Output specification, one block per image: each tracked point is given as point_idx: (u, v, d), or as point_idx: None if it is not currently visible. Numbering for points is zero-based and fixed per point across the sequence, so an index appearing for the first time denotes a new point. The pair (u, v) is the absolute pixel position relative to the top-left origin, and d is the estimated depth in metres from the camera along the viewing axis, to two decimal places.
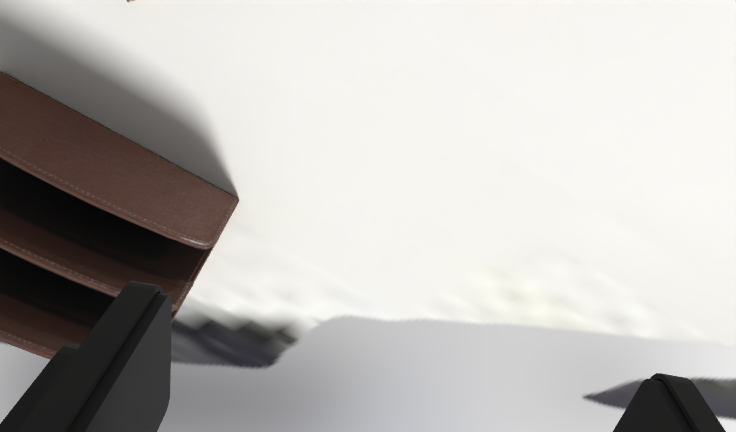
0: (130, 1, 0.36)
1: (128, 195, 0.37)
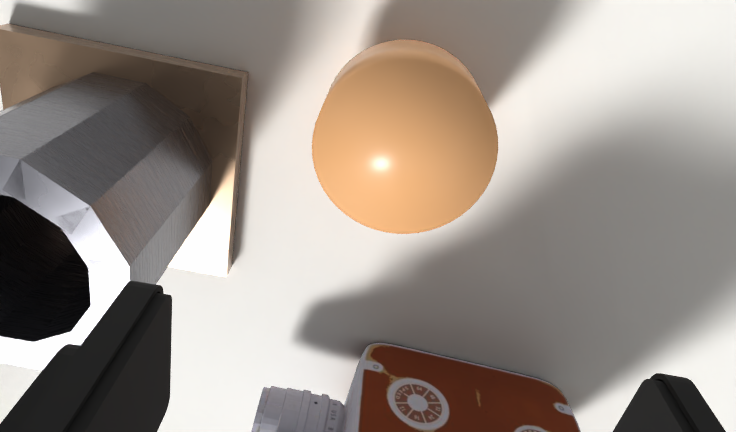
0: None
1: None
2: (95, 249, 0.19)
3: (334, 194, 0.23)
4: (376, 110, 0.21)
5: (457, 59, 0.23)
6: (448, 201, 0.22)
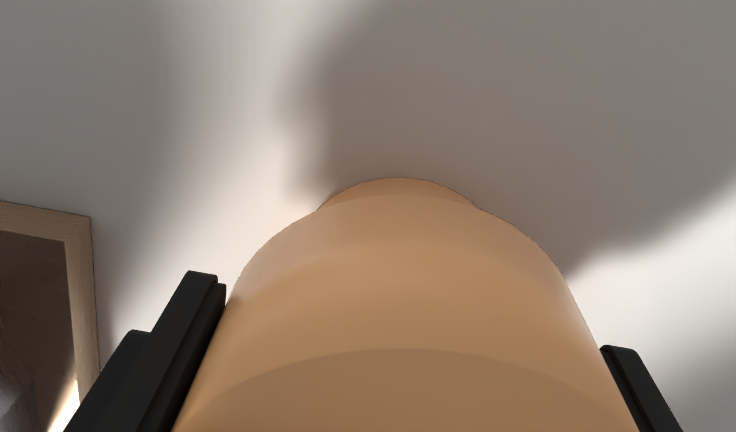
0: None
1: None
2: None
3: None
4: None
5: (528, 241, 0.10)
6: None
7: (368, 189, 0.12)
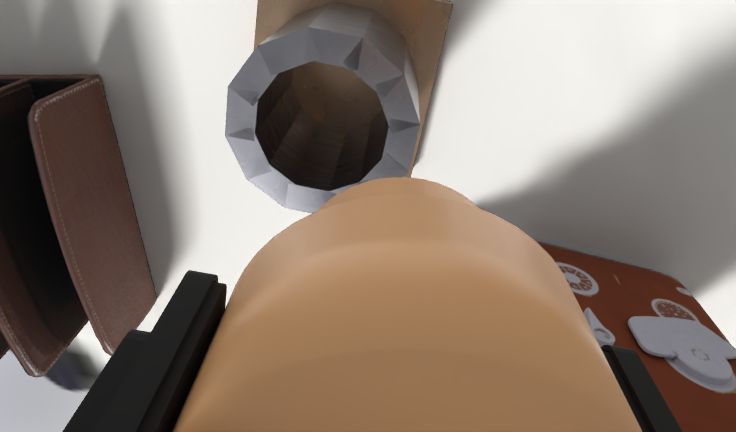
0: None
1: (100, 278, 0.38)
2: (398, 110, 0.26)
3: None
4: None
5: (530, 241, 0.10)
6: None
7: (369, 188, 0.12)
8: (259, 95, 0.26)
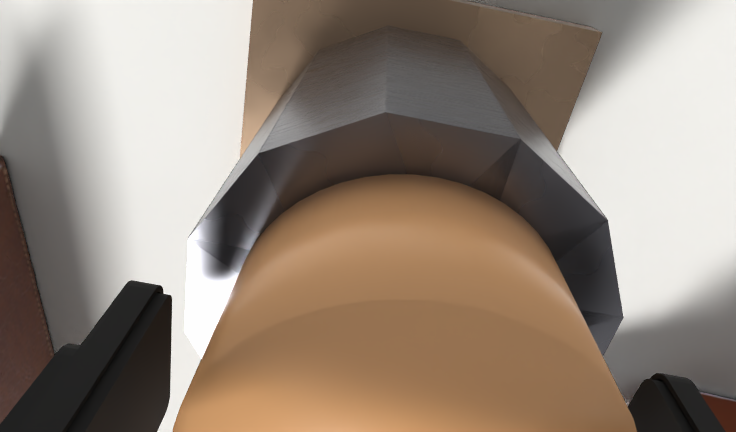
0: None
1: None
2: (579, 291, 0.12)
3: None
4: (328, 406, 0.08)
5: (518, 217, 0.10)
6: None
7: None
8: None
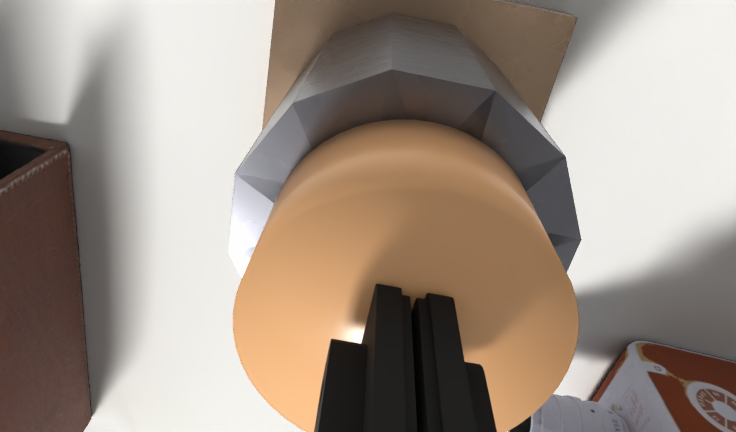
0: None
1: (18, 427, 0.27)
2: (545, 216, 0.15)
3: (279, 400, 0.13)
4: (350, 273, 0.11)
5: (494, 153, 0.13)
6: None
7: None
8: None
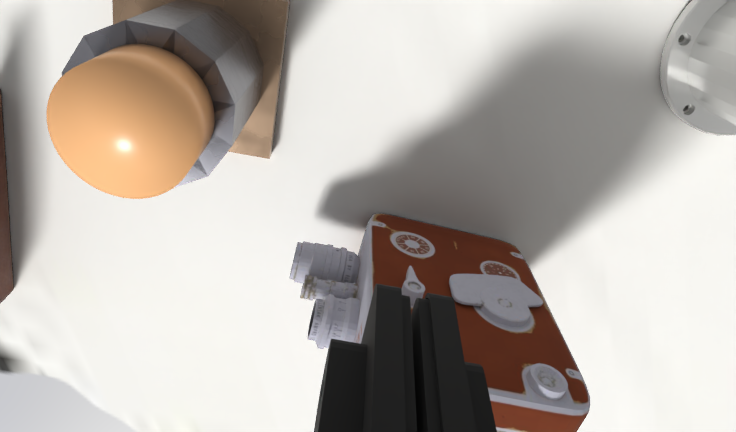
0: None
1: None
2: (214, 92, 0.30)
3: (75, 167, 0.28)
4: (92, 100, 0.27)
5: (179, 59, 0.29)
6: (166, 171, 0.28)
7: None
8: None
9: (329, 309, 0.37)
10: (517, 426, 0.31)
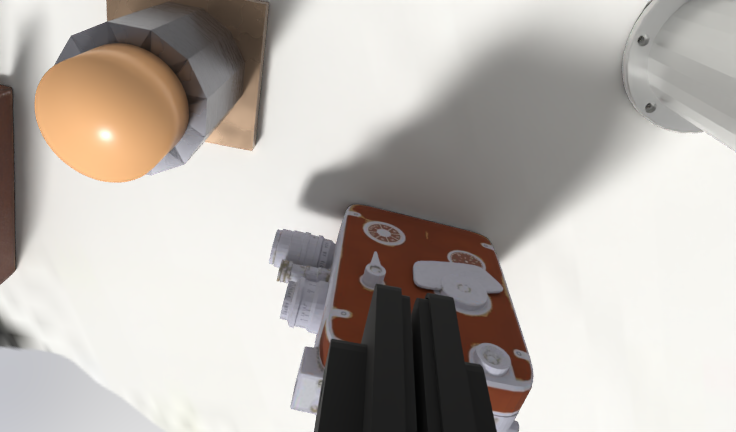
0: None
1: None
2: (188, 87, 0.34)
3: (60, 153, 0.32)
4: (73, 92, 0.30)
5: (155, 57, 0.32)
6: (140, 158, 0.32)
7: None
8: None
9: (299, 290, 0.40)
10: None
